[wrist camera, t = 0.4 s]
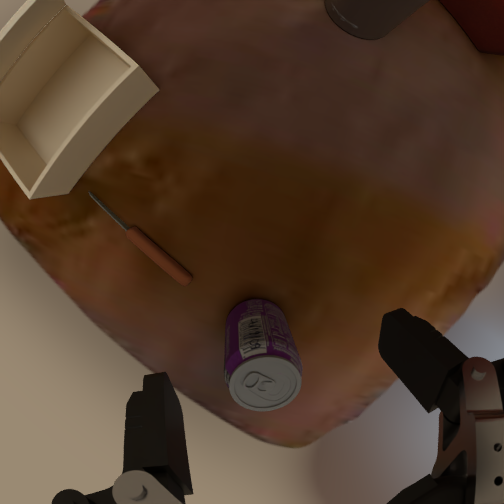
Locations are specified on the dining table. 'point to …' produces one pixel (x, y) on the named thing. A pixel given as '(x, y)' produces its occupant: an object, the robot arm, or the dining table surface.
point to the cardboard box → (66, 104)
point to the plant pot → (480, 22)
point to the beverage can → (260, 357)
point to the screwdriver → (151, 249)
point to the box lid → (24, 29)
